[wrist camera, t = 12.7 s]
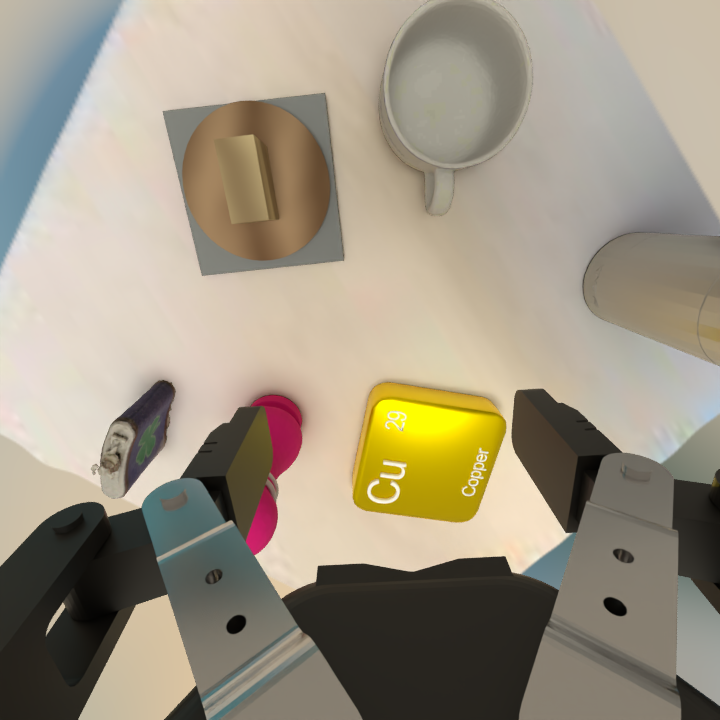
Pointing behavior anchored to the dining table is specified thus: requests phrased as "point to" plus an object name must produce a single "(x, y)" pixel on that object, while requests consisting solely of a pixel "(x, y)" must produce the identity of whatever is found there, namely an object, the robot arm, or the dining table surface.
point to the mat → (329, 234)
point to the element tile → (426, 452)
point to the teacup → (454, 90)
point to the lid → (256, 180)
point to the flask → (135, 440)
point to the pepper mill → (275, 464)
